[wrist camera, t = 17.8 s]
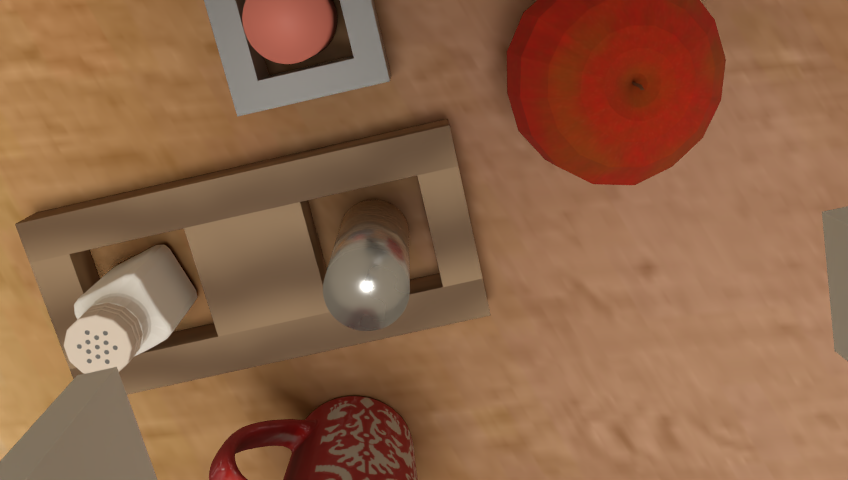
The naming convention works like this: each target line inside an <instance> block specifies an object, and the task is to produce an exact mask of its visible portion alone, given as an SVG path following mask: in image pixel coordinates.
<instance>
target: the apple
mask: <svg viewBox="0 0 848 480" xmlns="http://www.w3.org/2000/svg"><path fill="white" fill-rule="evenodd" d="M725 61H726V59H725V55H724V52H723V48H722V45H721V41H720V37H719V34H718V30H717V27H716V23H715V20H714V18H713V17H712V16H711V15H710V13H709V12H708V11H707V9H706V8H705V7H704V5H703V4H702V3H701V1H700V0H537V1H536V2H535V3H534V4H533V5H532V6H530V7H529V8H528V9H527V10H526V11H525V12H524V13H523V15H522V18H521V20H520V22H519V25H518V27H517V29H516V32H515V34H514V36H513V39H512V41H511V43H510V46H509V48H508V51H507V93H508V96H509V100H510V103H511V107H512V110H513V113H514V117H515V120H516V124H517V127H518V130H519V132H520V133H521V134H522V135H523V136H524V137H525V138H526V139H527V140H528V141H529V143H530V144H531V145H532V146H533V147H534V148H535V149H536V150H537V151H538V152H539V153H540V154H541V156H542V157H543V158H544V159H545V160H547V161H549V162H550V163H552V164H554V165H556V166H558V167H560V168H562V169H564V170H566V171H568V172H570V173H572V174H574V175H576V176H578V177H580V178H582V179H584V180H586V181H588V182H590V183H592V184H611V185H636V184H638V183H640V182H642V181H644V180H646V179H648V178H650V177H652V176H654V175H656V174H658V173H660V172H662V171H664V170H666V169H668V168H670V167H672V166H673V165H674V164H675V163H676V162H678V161H679V160H680V159H681V158H682V157H683V156H684V155H685V154H686V153H687V152H688V151H689V150H690V149H691V148H692V147H693V146H694V145H695V144H697V143H698V142H699V141H700V140H701V139H702V138H703V136H704V134H705V132H706V130H707V128H708V126H709V124H710V122H711V120H712V117H713V115H714V113H715V111H716V109H717V107H718V105H719V103H720V101H721V95H722V86H723V78H724V69H725Z"/></svg>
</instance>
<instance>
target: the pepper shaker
mask: <svg viewBox="0 0 848 480" xmlns="http://www.w3.org/2000/svg"><path fill="white" fill-rule="evenodd" d="M196 299H197V293H196V290H195V288H194V286H193V285H192V283H191V282H190V280H189V278H188V277H187V275H186V274H185V272H184V271H183V269H182V267H181V266H180V264H179V263H178V261H177V260H176V258H175V256H174V255H173V253H172V252H171V250H170V249H169V248H168V247H167V246H166V245H155V246H153V247H151V248H149V249H147V250H145V251H144V252H142V253H140V254H138V255H136V256H134V257H132V258H130V259H128V260H126V261H124V262H123V263H121V264H119V265H117V266H115V267H113V268H112V269H111V270H110V271H109V272H108V273H107V274H105V275H104V276H103V277H102V278H101V279H100V280H99V281H98V282H96V283H95V284H94V285H93V286H92V287H91V288H90V289H89V290H87V291H86V292H85V293H84V294H83V295H82V296H81V297H79V298H78V300H77V301H76V302H75V304H74V312H75V316H76V318H77V321H75V322H74V323H73V324H72V325H71V326H70V327H69V328H68V329H67V332H66V336H65V341H64V348H65V351H66V354H67V356H68V359H69V361H70V362H71V363H72V364H73V365H74V366H75V367H76V368H78V369H79V370H80V371H81V372H82V373H85V374H86V373H91V372H95V371H100V370H104V369H109V368H113V367H117V369H118V372H119V371H121V370H122V369H123V368H124V367H125V366H126V365H127V364H128V363H129V362H130V361H131V359H132V358H133V357H134V356H136V355H139V354H141V353H143V352H145V351H146V350H148V349H150V348H152V347H154V346H156V345H157V344H159V343H161V342H163V341H164V340H166V339H168V337H169V336H170V335H171V333H172V332H173V331H174V330H175V328H176V327H177V325H178V324H179V323H180V321H181V320H182V318H183V317H184V316H185V314H186V313H187V312H188V310H189V309H190V307H191V306H192V305H193V303H194V302H195V300H196Z"/></svg>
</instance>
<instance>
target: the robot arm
mask: <svg viewBox="0 0 848 480" xmlns="http://www.w3.org/2000/svg"><path fill="white" fill-rule="evenodd" d="M822 218H823V229H824V240H825V251H826V262H827V273H828V283H829V294H830V305H831V316H832V327H833V338H834V349H835V352H837V353H838V354H839V355H840V356H842V357H843V358H844V359H845V360H847V361H848V206H847V207H842V208H838V209H833V210H829V211H824V212H822ZM0 480H157V477H156V475H155V472H154V469H153V466H152V463H151V461H150V458H149V455H148V452H147V450H146V447H145V444H144V441H143V438H142V436H141V433H140V430H139V427H138V425H137V422H136V419H135V416H134V413H133V411H132V408H131V405H130V402H129V400H128V397H127V394H126V391H125V388H124V386H123V383H122V380H121V377H120V375H119V372H118V369H117V367H113V368H109V369H104V370H100V371H95V372H91V373H86V374H81V375H77V376H76V377H75V378H74V379H73V381H72V382H71V383H70V384H69V385H68V386H67V387H66V388H65V390H64V391H63V392H62V393H61V394H60V395H59V396H58V397H57V398H56V400H55V401H54V402H53V403H52V404H51V405H50V406H49V407H48V408H47V410H46V411H45V412H44V413H43V414H42V415H41V416H40V417H39V419H38V420H37V421H36V422H35V423H34V424H33V425H32V426H31V427H30V429H29V430H28V431H27V432H26V433H25V434H24V435H23V436H22V438H21V439H20V440H19V441H18V442H17V443H16V444H15V445H14V446H13V448H12V449H11V450H10V451H9V452H8V453H7V454H6V455H5V456H4V458H3V459H2V460H1V461H0Z"/></svg>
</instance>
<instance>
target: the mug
mask: <svg viewBox="0 0 848 480" xmlns="http://www.w3.org/2000/svg"><path fill="white" fill-rule="evenodd" d="M264 446H284V447H287V448H289V449H290V450H291V451H292V455H291V458H290V461H289V464H288V467H287V470H286V473H285V476H284V479H283V480H418V479H417V472H416V465H415V455H414V447H413V441H412V437H411V434H410V431H409V429H408V427H407V425H406V423H405V422H404V420H403V419H402V417H401V416H400V415H399V414H398V413H396V412H395V411H394V410H393V409H392V408H391V407H389V406H388V405H386V404H384V403H382V402H380V401H377V400H375V399H371V398H367V397H360V396H347V397H341V398H337V399H333V400H330V401H328V402H326V403H324V404H323V405H321V406H319V407H318V408H317V409H315V410H314V411H313V412H312V413H311V414H310V415H309V416H308V417H307V418H306V420H295V419H283V420H271V421H264V422H258V423H254V424H251V425H248V426H245V427H242V428H241V429H239V430H237V431H236V432H235V433H233V434H232V435H231V436H230V437H229V438H228V439H227V440H226V441H225V442H224V444H223V445H222V446H221V448H220V449H219V451H218V452H217V454H216V456H215V458H214V459H213V461H212V464H211V467H210V472H209V480H247V479H246V478H245V477H244V476H243V475H242V474H241V473H240V471H239V469H238V467H237V465H236V462H235V454H236V453H238V452H241V451H244V450H248V449H253V448H258V447H264Z"/></svg>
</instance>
